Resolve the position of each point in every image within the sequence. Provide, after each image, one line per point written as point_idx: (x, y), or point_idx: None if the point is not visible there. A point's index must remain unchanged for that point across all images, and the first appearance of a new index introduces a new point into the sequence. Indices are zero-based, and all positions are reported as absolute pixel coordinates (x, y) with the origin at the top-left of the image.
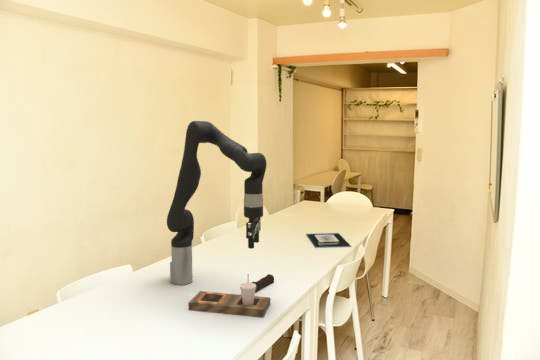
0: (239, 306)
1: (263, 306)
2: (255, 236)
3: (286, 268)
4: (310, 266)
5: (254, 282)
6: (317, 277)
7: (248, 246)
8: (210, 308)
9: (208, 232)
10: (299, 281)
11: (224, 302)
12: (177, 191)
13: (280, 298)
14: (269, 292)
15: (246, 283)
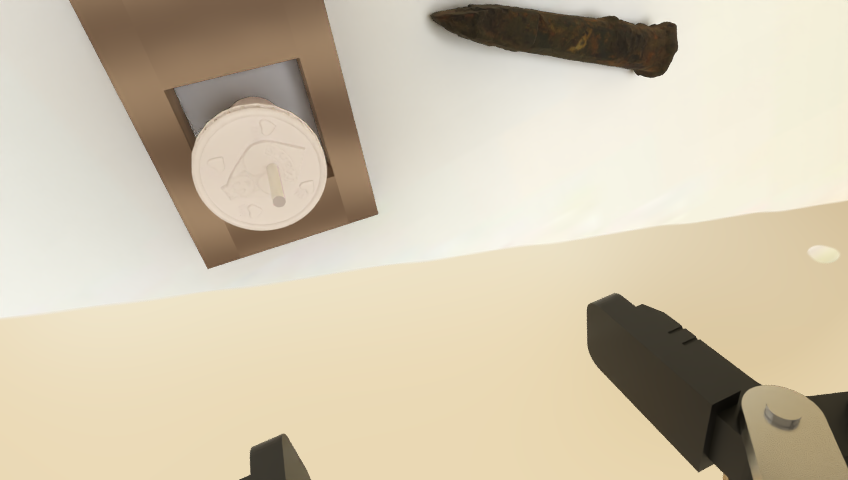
0: (153, 128)
1: (248, 247)
2: (658, 391)
3: (816, 38)
4: (828, 135)
5: (526, 32)
6: (710, 219)
7: (252, 471)
8: None
9: None
10: (663, 177)
11: None
12: None
13: (458, 201)
14: (509, 115)
15: (284, 146)
